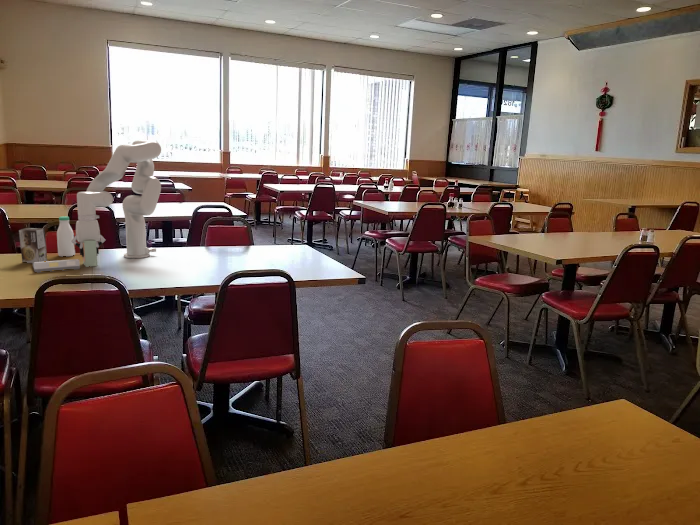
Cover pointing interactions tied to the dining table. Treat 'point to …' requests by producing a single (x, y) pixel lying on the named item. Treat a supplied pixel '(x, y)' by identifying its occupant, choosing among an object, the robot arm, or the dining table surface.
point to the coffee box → (33, 245)
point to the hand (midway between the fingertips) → (89, 255)
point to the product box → (90, 253)
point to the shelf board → (56, 265)
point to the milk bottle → (65, 238)
